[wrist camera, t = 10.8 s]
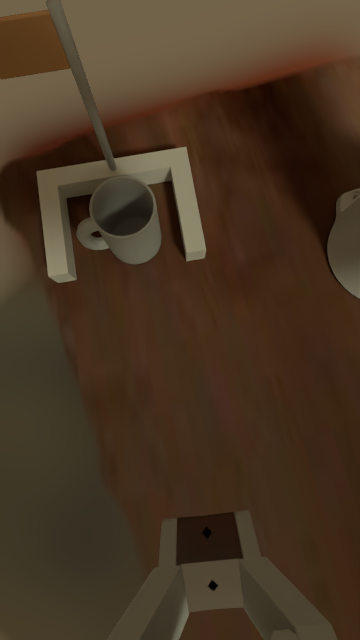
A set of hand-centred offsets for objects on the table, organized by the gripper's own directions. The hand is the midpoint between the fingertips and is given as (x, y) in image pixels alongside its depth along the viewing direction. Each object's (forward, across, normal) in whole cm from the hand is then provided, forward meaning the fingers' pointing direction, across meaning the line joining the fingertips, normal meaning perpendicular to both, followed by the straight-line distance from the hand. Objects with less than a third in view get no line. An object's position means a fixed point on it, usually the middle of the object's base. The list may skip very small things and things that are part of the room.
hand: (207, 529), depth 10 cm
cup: (+34, +7, -12) cm, 36 cm away
